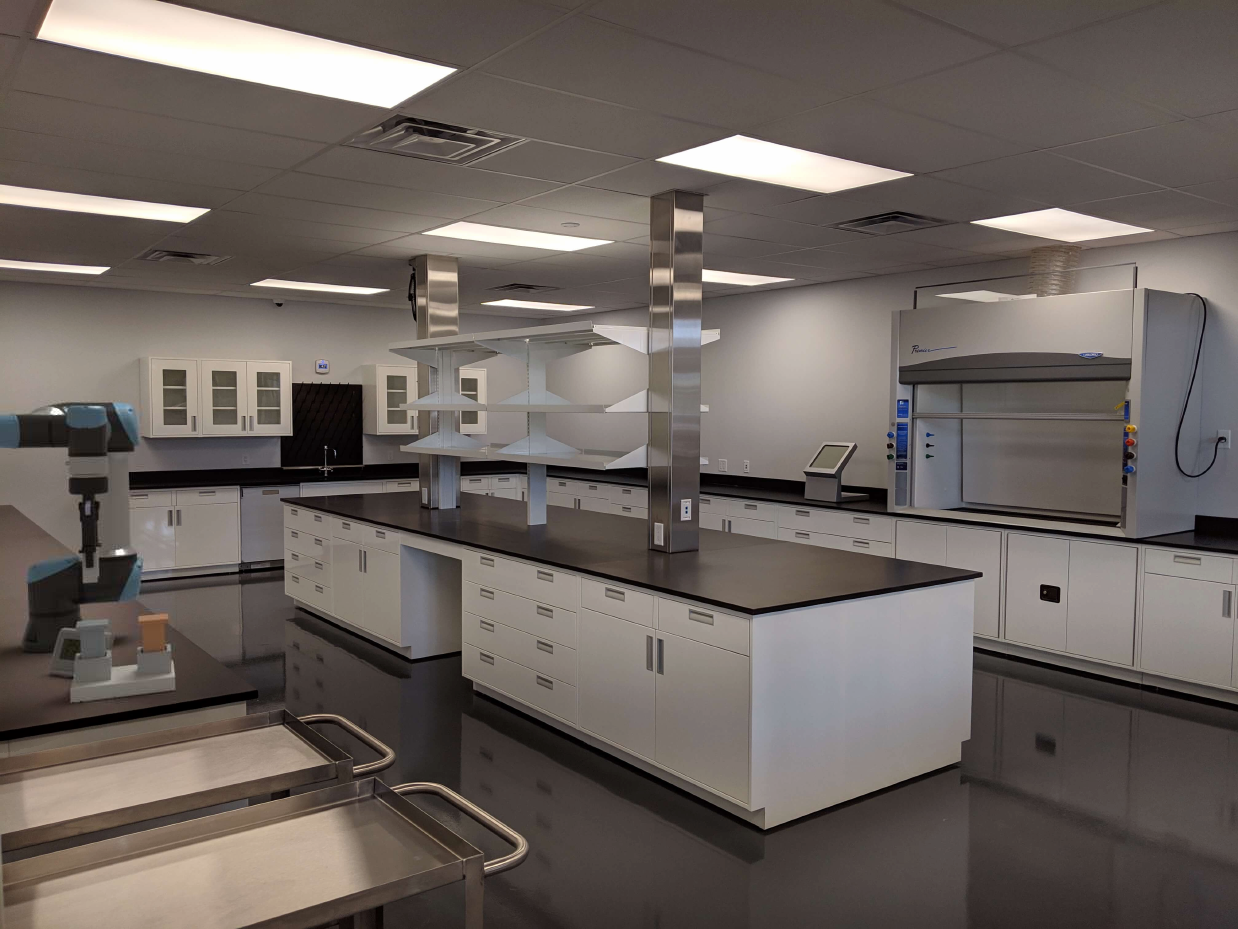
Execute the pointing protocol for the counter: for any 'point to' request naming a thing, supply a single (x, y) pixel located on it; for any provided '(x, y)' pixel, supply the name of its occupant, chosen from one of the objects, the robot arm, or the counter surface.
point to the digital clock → (70, 651)
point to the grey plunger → (92, 638)
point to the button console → (122, 676)
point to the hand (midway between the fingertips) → (91, 579)
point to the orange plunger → (153, 632)
